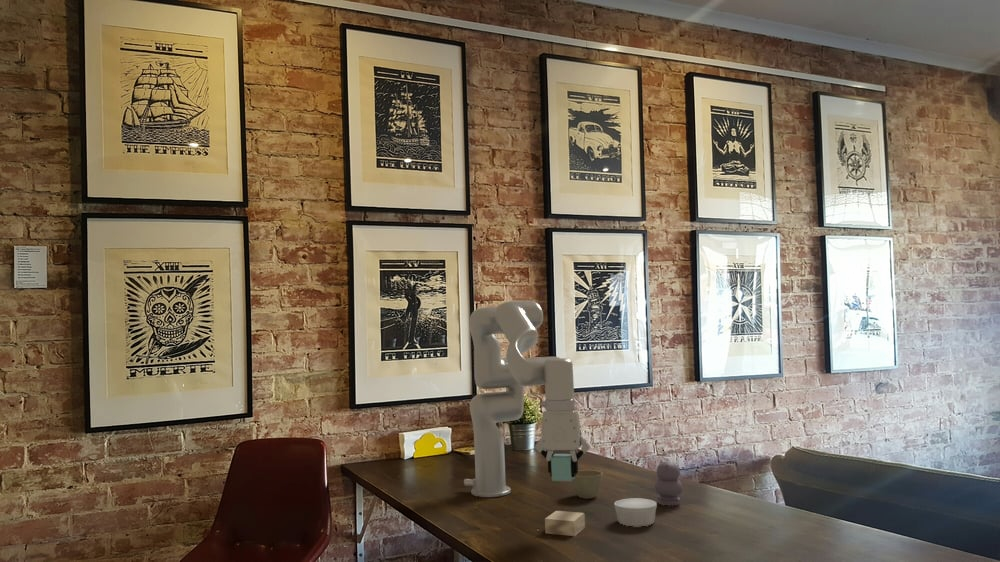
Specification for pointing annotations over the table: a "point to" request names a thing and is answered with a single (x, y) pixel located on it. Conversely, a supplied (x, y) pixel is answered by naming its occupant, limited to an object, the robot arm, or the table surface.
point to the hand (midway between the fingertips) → (563, 475)
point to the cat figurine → (668, 483)
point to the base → (565, 523)
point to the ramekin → (635, 511)
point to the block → (561, 467)
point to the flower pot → (587, 483)
